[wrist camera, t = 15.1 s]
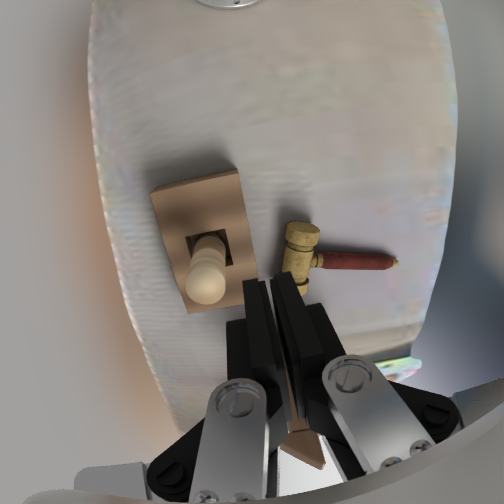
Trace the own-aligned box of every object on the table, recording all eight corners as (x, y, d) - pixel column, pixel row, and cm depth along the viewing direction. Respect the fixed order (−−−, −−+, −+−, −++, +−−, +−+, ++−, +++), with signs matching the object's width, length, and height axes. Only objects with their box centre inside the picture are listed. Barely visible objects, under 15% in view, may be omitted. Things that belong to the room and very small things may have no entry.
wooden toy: (330, 318, 48) (386, 437, 25) (326, 345, 50) (371, 458, 28) (242, 328, 47) (256, 465, 24) (244, 355, 49) (258, 481, 27)
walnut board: (157, 187, 36) (149, 193, 32) (237, 168, 36) (238, 173, 32) (190, 298, 43) (188, 313, 40) (259, 285, 43) (262, 300, 40)
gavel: (414, 240, 39) (395, 294, 43) (398, 230, 43) (383, 281, 47) (292, 231, 35) (280, 297, 40) (283, 219, 40) (273, 281, 44)
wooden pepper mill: (192, 231, 38) (179, 274, 27) (222, 225, 38) (220, 266, 27) (200, 258, 40) (191, 307, 29) (228, 252, 40) (229, 301, 29)
